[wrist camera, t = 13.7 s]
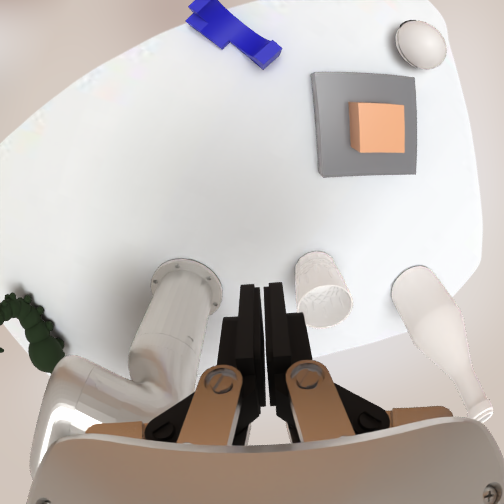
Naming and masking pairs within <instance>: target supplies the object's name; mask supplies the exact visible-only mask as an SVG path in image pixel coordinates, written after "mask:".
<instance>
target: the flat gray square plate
mask: <svg viewBox="0 0 504 504" xmlns="http://www.w3.org/2000/svg"><path fill="white" fill-rule="evenodd" d="M311 80H312V89H313V99H314V110H315V121H316V134H317V148H318V165H319V173H320V174H321V176H322V177H323V178H325V177H342V176H365V175H405V174H416V160H417V110H416V90H415V78H414V77H406V76H397V75H387V74H374V73H355V72H314V73H312V74H311ZM348 102H371V103H388V104H398V105H404V121H405V152H404V153H383V152H372V153H360V152H358V151H357V150H355V149H353V148H352V147H351V143H350V120H349V104H348Z"/></svg>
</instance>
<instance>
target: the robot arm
mask: <svg viewBox="0 0 504 504" xmlns="http://www.w3.org/2000/svg"><path fill="white" fill-rule="evenodd" d="M151 291H152V294H153V298H152V300H151V302H150V304H149V307H148V309H147V311H146V313H145V315H144V318H143V320H142V322H141V324H140V327H139V329H138V331H137V333H136V336H135V338H134V340H133V343H132V345H131V348H130V350H129V355H128V368H129V373H130V376H131V380H128V379H126V378H124V377H122V376H120V375H118V374H115V373H113V372H111V371H109V370H107V369H105V368H103V367H101V366H99V365H97V364H95V363H93V362H91V361H89V360H87V359H85V358H83V357H80V356H76V355H68V356H66V357H64V358H62V359H61V360H60V361H59V362H58V363H57V365H56V366H55V368H54V370H53V372H52V374H51V376H50V379H49V381H48V384H47V387H46V390H45V393H44V397H43V401H42V404H41V408H40V412H39V416H38V420H37V425H36V429H35V434H34V438H33V443H32V448H31V454H30V473H31V476H32V479H33V482H32V485H31V488H30V492H29V495H28V499H27V503H26V504H504V458H503V456H502V454H501V451H500V449H499V447H498V445H497V443H496V441H495V439H494V438H493V436H492V434H491V433H490V431H489V430H488V429H487V428H486V427H485V425H483V424H482V423H481V422H479V421H477V420H475V419H471V418H465V417H453V414H452V412H451V411H450V410H449V409H447V408H445V407H443V406H430V407H414V408H393V409H392V411H385V410H383V409H382V408H381V407H379V406H377V405H375V404H373V403H371V402H369V401H367V400H365V399H363V398H362V397H360V396H358V395H356V394H353V393H352V392H350V391H348V390H346V389H345V388H343V387H341V386H339V385H337V384H335V383H334V382H333V380H332V378H331V376H330V373H329V371H328V369H327V368H326V366H324V365H323V364H322V363H320V362H317V361H315V360H312V355H311V349H310V344H309V339H308V334H307V328H306V323H305V318H304V314H303V312H299V313H286V309H285V301H284V294H283V286H282V282H276V283H269V287H264V308H265V336H266V360H267V372H268V384H269V397H270V406H276V415H277V416H278V417H280V418H281V419H283V420H284V421H286V427H287V431H288V434H289V438H290V442H291V444H278V445H257V446H256V445H255V446H247V444H248V440H249V435H250V430H251V422H253V421H254V420H255V419H256V418H257V417H259V414H260V413H261V411H260V407H264V406H266V393H265V354H264V332H263V321H262V309H261V298H260V287H254V284H247V285H241V287H240V299H239V313H238V317H224V318H223V322H222V330H221V337H220V345H219V352H218V360H217V365H216V366H213V367H211V368H209V369H207V370H206V371H205V372H204V373H203V374H202V376H201V377H200V380H199V382H198V385H197V388H196V391H195V392H194V388H195V382H196V376H197V371H198V366H199V361H200V356H201V351H202V346H203V341H204V336H205V331H206V327H207V322H208V317H209V316H210V315H212V314H213V313H214V312H215V311H216V310H217V309H218V308H219V306H220V303H221V300H222V287H221V284H220V282H219V279H218V278H217V277H216V275H215V274H214V273H213V272H212V271H211V270H210V269H209V268H207V267H206V266H204V265H203V264H200V263H198V262H196V261H192V260H188V259H174V260H170V261H168V262H165V263H163V264H162V265H161V266H159V267H158V269H157V270H156V271H155V273H154V275H153V277H152V280H151Z"/></svg>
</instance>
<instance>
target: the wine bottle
mask: <svg viewBox="0 0 504 504" xmlns="http://www.w3.org/2000/svg"><path fill="white" fill-rule="evenodd" d="M392 300H393V303H394V305H395V307H396V309H397V311H398V312H399V314H400V316H401V318H402V320H403V322H404V324H405V326H406V328H407V331H408V333H409V334H410V337H411V339H412V341H413V343H414V344H415V346H416V347H417V348H418V349H419V350H420V351H421V352H422V353H423V354H424V355H426V356H427V357H428V358H429V359H430V360H431V361H432V362H434V363H435V364H436V365H437V366H438V367H439V368H440V369H441V370H442V371H443V372H445V373H446V374H447V375H448V376H449V377H450V378H451V380H452V381H453V382H454V384H455V386H456V388H457V390H458V392H459V394H460V397H461V399H462V401H463V403H464V405H465V407H466V409H467V412H468V413H467V417H468V418H471V419H475V420H477V421H479V422H481V423H483V422H484V421H486V420H487V419H489V418H490V417H491V416H492V414H493V411H492V410H493V406H492V404H491V402H490V400H489V399H487V398H486V395H485V393H484V391H483V388H482V386H481V384H480V382H479V380H478V378H477V376H476V374H475V371H474V369H473V366H472V362H471V358H470V351H469V346H468V340H467V335H466V329H465V324H464V320H463V316H462V312H461V310H460V308H459V307H458V305H457V304H456V303H455V301H454V300H453V298H452V297H451V295H450V294H449V293H448V291H447V290H446V289H445V287H444V286H443V285H442V283H441V282H440V281H439V279H438V278H437V277H436V275H435V274H434V273H433V272H432V271H431V270H430V269H428V268H426V267H423V266H416V267H412V268H410V269H408V270H406V271H405V272H403V273H402V274H401V275H400V276H399V277H398V278H397V280H396V281H395V283H394V285H393V288H392Z"/></svg>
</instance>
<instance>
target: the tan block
mask: <svg viewBox="0 0 504 504" xmlns="http://www.w3.org/2000/svg"><path fill="white" fill-rule="evenodd" d="M348 104H349V120H350V143H351V147H352V148H353V149H355V150H357V151H358V152H360V153H372V152H383V153H404V152H405V121H404V105H398V104H388V103H369V102H348Z"/></svg>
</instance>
